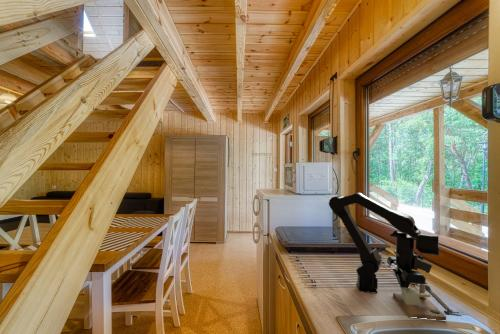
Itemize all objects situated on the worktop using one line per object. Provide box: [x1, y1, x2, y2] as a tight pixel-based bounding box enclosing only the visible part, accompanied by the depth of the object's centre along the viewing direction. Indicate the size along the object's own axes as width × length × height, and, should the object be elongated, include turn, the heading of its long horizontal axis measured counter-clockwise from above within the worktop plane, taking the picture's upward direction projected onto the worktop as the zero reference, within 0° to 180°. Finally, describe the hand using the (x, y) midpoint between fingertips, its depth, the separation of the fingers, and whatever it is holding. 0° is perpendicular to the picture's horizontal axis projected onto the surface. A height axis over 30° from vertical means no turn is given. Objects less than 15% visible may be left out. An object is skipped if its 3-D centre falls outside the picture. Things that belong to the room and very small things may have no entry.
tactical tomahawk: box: [425, 284, 462, 317], centre depth 96 cm, size 21×7×1 cm, turn 166°
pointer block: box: [401, 287, 431, 306], centre depth 91 cm, size 8×4×4 cm, turn 80°
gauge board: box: [392, 284, 447, 321], centre depth 90 cm, size 11×14×6 cm
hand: (404, 292), depth 96 cm, fingers closed
